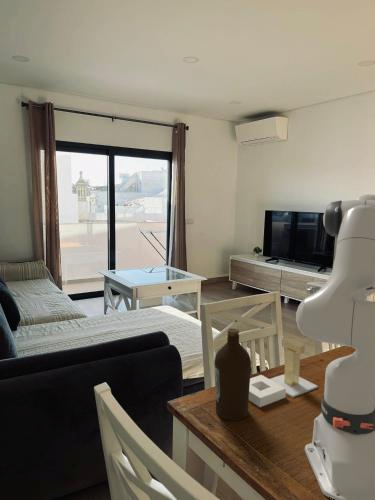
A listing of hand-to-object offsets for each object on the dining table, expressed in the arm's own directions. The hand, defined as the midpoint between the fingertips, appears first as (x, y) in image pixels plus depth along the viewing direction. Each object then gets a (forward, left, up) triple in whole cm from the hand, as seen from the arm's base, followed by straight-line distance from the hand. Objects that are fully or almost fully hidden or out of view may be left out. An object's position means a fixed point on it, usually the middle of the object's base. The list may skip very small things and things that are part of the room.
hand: (318, 294), depth 125 cm
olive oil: (-29, +27, -30) cm, 50 cm away
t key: (-9, +9, -29) cm, 32 cm away
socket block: (-18, +19, -30) cm, 39 cm away
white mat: (-9, +9, -30) cm, 32 cm away
